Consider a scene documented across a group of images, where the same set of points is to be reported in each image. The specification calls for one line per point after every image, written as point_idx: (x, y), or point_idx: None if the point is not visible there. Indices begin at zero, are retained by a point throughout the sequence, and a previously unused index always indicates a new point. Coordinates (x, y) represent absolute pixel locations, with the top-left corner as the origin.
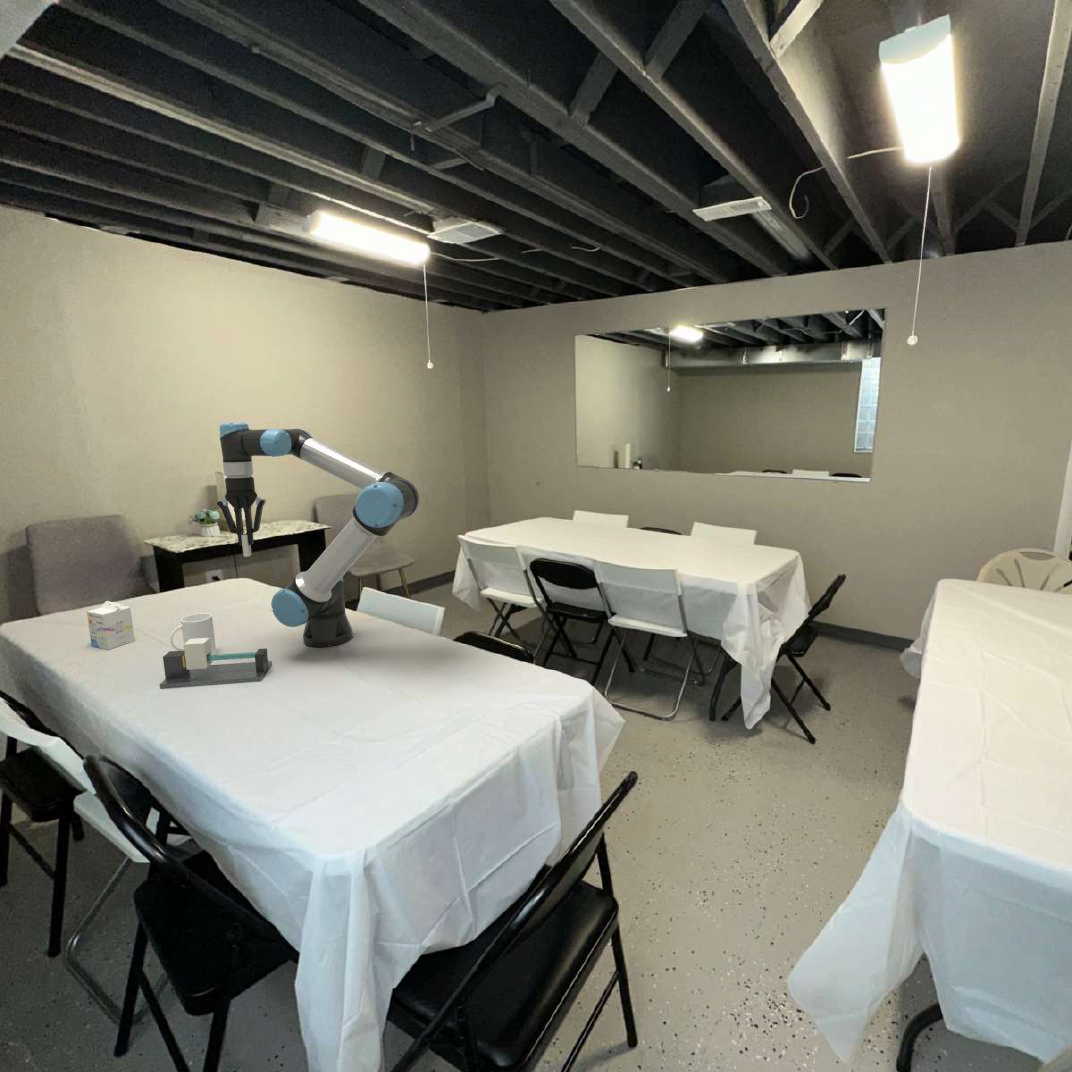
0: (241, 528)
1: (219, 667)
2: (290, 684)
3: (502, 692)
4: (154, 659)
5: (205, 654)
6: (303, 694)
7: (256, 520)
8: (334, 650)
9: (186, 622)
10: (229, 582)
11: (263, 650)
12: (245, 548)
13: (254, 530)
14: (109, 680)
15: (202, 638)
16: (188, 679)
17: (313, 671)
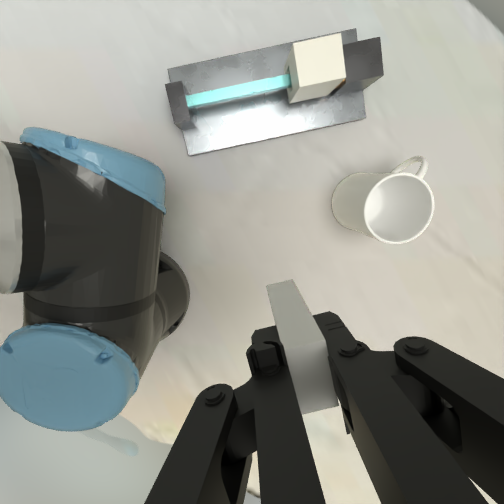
0: (346, 395)
1: (279, 117)
2: (100, 56)
3: None
4: (440, 177)
5: (288, 58)
6: (47, 6)
7: (173, 498)
8: None
9: (407, 173)
10: None
11: (174, 108)
12: (286, 299)
13: (216, 389)
14: (473, 72)
15: (315, 81)
16: None
17: (86, 123)
